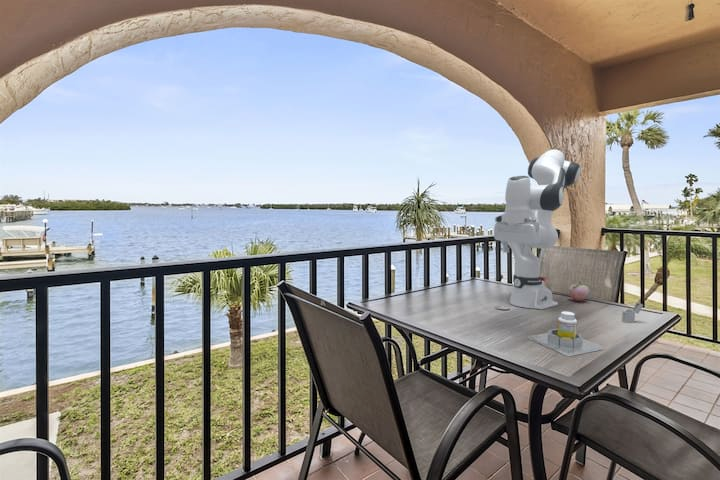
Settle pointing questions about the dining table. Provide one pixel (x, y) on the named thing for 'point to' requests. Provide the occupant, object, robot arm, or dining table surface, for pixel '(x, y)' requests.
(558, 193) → the robot arm
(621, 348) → the dining table surface
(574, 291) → the decorative fruit
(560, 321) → the supplement bottle
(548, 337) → the socket
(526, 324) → the dining table surface
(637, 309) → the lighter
